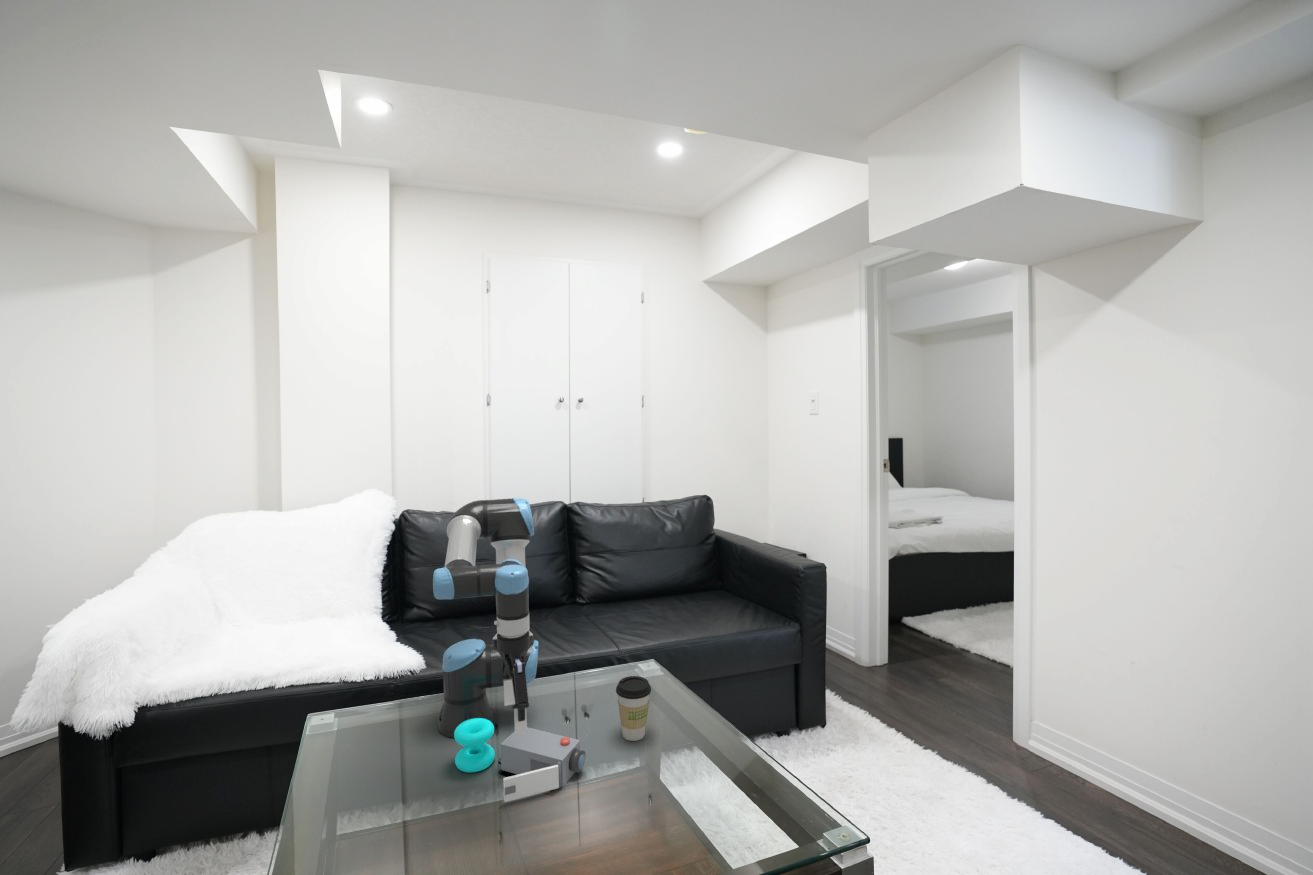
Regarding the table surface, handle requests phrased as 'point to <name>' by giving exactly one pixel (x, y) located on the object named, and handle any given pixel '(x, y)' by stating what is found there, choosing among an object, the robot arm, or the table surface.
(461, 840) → the table surface
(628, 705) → the coffee cup
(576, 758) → the grey boxy piece
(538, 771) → the side door
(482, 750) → the donuts
